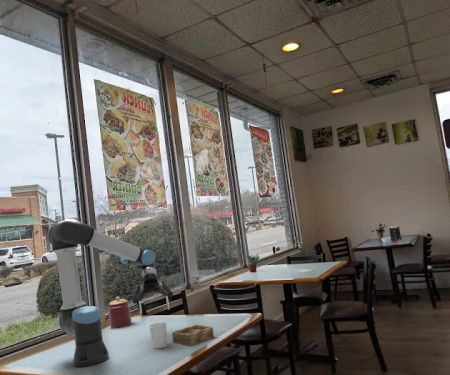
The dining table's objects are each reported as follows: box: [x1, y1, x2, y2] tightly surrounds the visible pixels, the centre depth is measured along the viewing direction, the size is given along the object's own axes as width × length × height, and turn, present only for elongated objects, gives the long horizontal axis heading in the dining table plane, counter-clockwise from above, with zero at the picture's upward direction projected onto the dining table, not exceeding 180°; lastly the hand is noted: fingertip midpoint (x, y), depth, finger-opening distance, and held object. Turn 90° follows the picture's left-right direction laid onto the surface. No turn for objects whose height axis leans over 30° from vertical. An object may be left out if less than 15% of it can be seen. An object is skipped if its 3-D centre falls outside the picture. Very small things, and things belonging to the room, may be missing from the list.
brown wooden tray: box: [171, 324, 215, 346], centre depth 192 cm, size 14×14×4 cm
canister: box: [107, 296, 132, 329], centre depth 251 cm, size 13×13×18 cm
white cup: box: [148, 321, 168, 350], centre depth 189 cm, size 8×8×10 cm
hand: (155, 310), depth 200 cm, fingers open, 13 cm apart
